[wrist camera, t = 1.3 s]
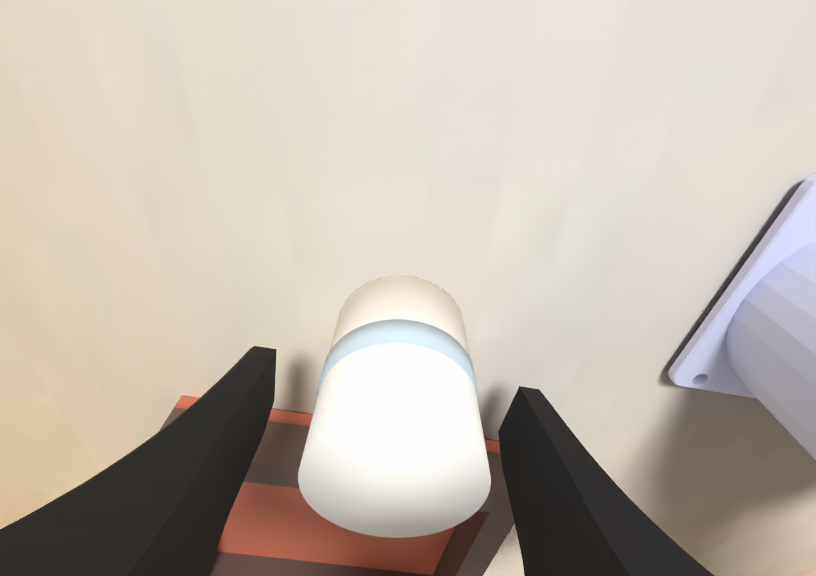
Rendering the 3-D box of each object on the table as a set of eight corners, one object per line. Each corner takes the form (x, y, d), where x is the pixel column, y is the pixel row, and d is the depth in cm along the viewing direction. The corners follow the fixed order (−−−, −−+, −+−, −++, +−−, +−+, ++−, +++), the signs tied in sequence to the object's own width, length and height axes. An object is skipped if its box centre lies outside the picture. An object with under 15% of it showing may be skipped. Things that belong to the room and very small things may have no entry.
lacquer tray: (515, 443, 18) (529, 498, 16) (447, 575, 24) (450, 628, 22) (181, 395, 17) (147, 449, 14) (200, 548, 23) (178, 601, 21)
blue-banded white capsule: (480, 287, 14) (520, 436, 9) (447, 385, 16) (463, 547, 11) (344, 263, 13) (301, 404, 8) (330, 367, 16) (290, 527, 11)
